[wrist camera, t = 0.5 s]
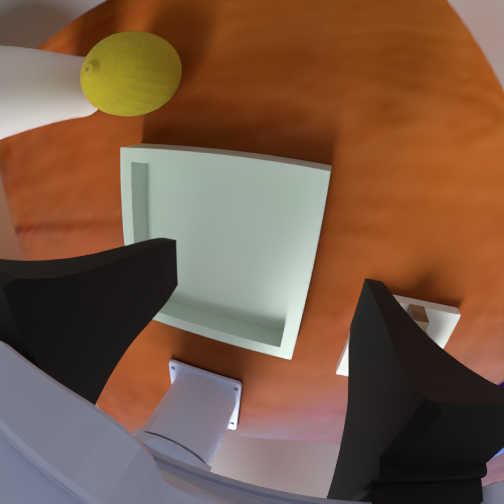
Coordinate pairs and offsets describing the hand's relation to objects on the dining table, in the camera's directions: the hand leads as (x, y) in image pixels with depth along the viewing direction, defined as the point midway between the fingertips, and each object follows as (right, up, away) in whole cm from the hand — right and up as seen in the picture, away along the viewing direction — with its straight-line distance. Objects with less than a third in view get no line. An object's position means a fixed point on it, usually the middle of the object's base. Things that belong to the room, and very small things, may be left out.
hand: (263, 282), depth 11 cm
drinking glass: (-14, +15, +9) cm, 23 cm away
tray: (-3, +2, +11) cm, 12 cm away
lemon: (-6, +13, +7) cm, 17 cm away
